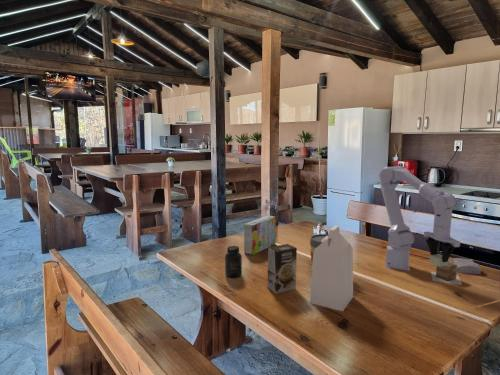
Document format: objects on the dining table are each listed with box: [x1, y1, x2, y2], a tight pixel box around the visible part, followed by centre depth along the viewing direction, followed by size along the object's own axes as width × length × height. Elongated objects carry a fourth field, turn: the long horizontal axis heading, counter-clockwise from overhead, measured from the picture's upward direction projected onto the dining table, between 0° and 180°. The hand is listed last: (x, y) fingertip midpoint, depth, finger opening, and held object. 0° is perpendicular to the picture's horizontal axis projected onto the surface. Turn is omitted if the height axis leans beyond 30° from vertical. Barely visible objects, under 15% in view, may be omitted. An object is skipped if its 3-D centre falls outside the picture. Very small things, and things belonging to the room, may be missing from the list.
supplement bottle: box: [224, 245, 243, 279], centre depth 143 cm, size 7×7×12 cm
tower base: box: [435, 270, 458, 281], centre depth 139 cm, size 5×5×3 cm
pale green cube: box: [428, 253, 449, 267], centre depth 136 cm, size 4×4×3 cm
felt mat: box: [430, 271, 463, 286], centre depth 139 cm, size 10×10×1 cm
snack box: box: [243, 215, 277, 256], centre depth 176 cm, size 21×6×15 cm, turn 144°
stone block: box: [449, 257, 482, 275], centre depth 149 cm, size 12×5×10 cm
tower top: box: [436, 261, 458, 274], centre depth 139 cm, size 5×5×3 cm
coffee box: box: [267, 243, 298, 294], centre depth 130 cm, size 9×6×16 cm
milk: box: [309, 225, 354, 312], centre depth 121 cm, size 12×12×26 cm
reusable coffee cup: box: [309, 233, 329, 263], centre depth 145 cm, size 13×13×15 cm
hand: (439, 259), depth 136 cm, fingers closed on pale green cube, 4 cm apart
